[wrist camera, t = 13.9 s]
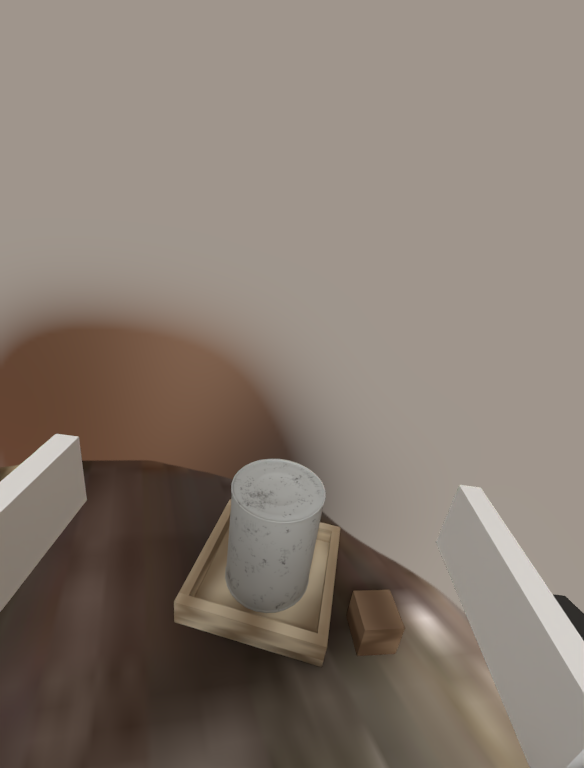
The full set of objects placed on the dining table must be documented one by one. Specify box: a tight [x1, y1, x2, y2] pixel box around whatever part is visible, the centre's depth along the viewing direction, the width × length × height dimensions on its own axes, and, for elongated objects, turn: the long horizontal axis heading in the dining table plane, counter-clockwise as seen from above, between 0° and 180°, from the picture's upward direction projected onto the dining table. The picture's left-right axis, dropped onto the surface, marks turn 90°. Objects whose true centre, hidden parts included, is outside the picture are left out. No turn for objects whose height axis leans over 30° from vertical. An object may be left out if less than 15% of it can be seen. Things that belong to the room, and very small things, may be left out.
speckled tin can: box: [225, 459, 326, 613], centre depth 39 cm, size 10×10×12 cm
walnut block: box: [346, 590, 405, 656], centre depth 37 cm, size 4×4×4 cm
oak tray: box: [174, 500, 340, 667], centre depth 41 cm, size 15×15×3 cm
